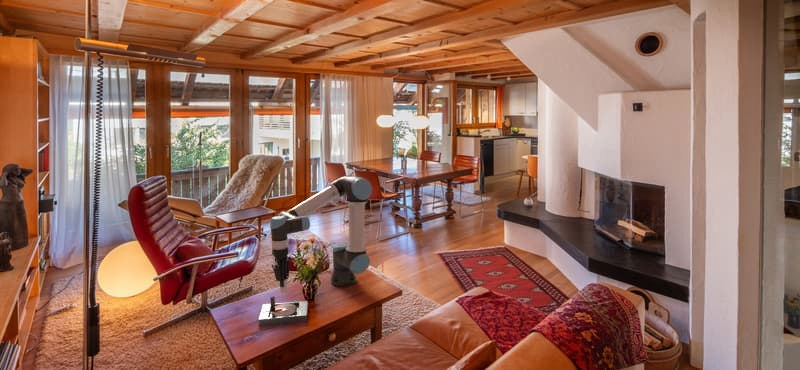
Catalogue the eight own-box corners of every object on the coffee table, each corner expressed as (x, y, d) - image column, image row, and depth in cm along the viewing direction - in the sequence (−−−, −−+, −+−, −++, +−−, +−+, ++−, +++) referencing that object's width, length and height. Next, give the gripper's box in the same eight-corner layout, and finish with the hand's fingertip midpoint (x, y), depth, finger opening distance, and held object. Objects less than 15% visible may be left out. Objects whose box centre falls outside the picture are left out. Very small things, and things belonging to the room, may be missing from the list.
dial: (295, 305, 212) (294, 289, 211) (297, 316, 201) (297, 299, 200) (270, 309, 208) (269, 292, 207) (271, 320, 197) (270, 302, 196)
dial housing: (307, 307, 215) (307, 300, 214) (306, 321, 199) (306, 314, 199) (263, 310, 211) (263, 303, 210) (258, 326, 195) (258, 318, 195)
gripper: (281, 242, 212) (285, 285, 216) (265, 251, 200) (269, 296, 204) (294, 243, 210) (297, 287, 214) (278, 252, 198) (282, 298, 202)
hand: (283, 291), depth 209 cm, fingers closed
